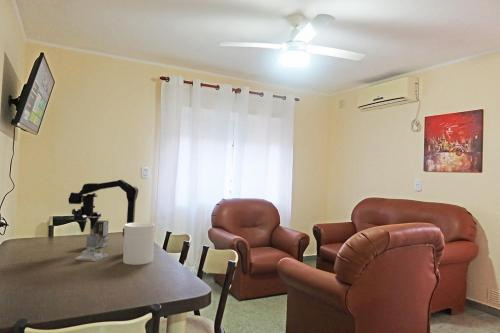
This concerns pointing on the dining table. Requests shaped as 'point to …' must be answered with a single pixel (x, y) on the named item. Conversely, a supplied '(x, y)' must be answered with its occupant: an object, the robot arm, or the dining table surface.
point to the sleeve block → (91, 255)
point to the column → (92, 241)
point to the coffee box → (101, 232)
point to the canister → (138, 243)
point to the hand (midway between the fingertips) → (87, 230)
